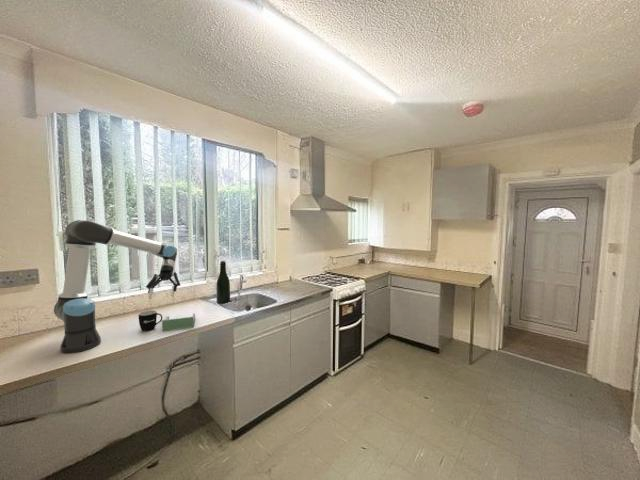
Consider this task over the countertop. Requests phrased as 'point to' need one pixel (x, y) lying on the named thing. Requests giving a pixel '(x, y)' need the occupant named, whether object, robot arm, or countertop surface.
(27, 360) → the countertop surface
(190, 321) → the block
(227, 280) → the beer bottle
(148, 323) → the mug
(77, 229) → the robot arm
